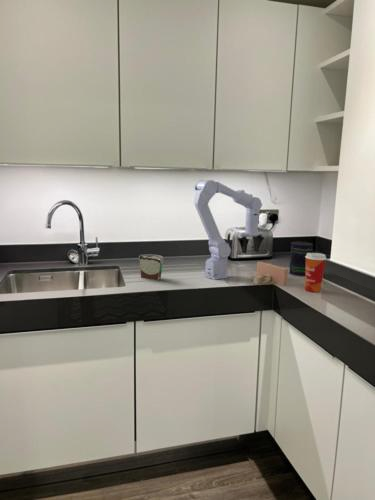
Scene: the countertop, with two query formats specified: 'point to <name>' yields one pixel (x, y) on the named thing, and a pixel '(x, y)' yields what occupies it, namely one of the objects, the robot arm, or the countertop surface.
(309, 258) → the coffee cup
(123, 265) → the countertop surface
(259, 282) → the birch slotted plate
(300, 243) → the storage jar
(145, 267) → the food container
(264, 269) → the terracotta slotted plate
